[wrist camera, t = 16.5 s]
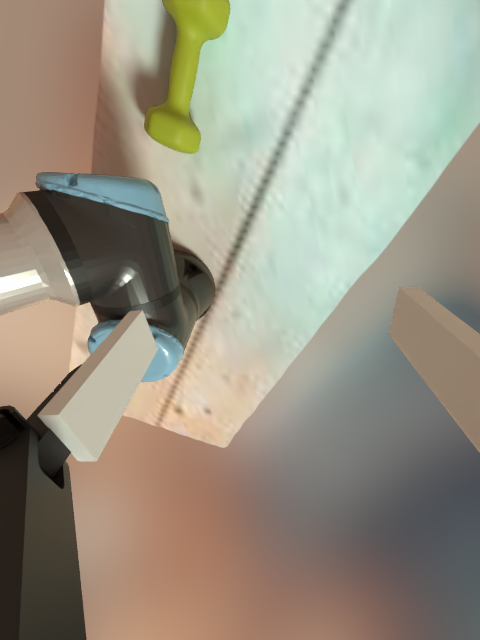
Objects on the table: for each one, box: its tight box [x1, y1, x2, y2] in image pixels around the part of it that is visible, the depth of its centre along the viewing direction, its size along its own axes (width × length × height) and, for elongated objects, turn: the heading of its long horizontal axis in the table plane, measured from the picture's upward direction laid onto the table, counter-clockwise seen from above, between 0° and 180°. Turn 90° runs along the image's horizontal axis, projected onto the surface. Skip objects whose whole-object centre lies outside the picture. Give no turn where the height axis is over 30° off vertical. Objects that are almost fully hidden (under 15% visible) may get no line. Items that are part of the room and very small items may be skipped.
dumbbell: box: [144, 0, 230, 154], centre depth 31 cm, size 16×8×7 cm, turn 159°
